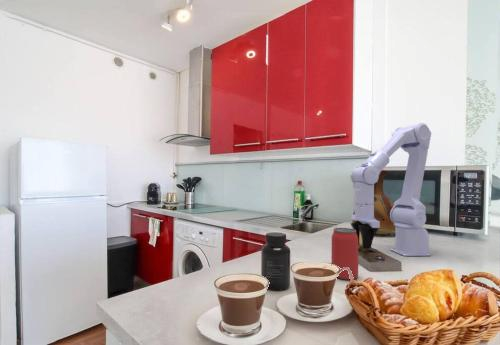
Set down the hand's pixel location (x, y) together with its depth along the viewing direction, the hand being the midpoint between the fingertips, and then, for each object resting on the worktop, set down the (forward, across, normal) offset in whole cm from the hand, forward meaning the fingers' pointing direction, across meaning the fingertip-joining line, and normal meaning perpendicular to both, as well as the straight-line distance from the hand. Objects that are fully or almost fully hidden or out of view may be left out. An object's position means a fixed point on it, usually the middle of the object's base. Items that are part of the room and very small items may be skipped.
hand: (364, 246), depth 85 cm
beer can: (+4, +15, -13) cm, 20 cm away
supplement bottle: (+4, +20, -32) cm, 38 cm away
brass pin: (+2, 0, 0) cm, 2 cm away
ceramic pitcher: (+4, -38, +25) cm, 46 cm away
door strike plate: (+4, 0, 0) cm, 4 cm away
